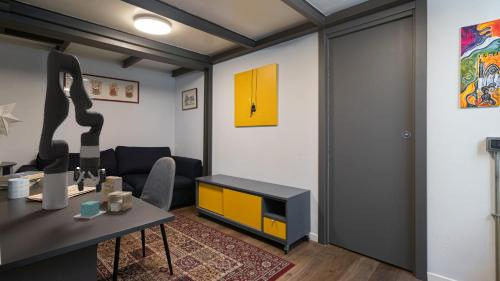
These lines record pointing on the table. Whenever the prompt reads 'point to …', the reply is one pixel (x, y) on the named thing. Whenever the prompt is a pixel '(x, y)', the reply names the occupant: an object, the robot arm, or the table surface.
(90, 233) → the table surface
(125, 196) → the tunnel
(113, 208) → the light grey rectangular block
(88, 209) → the block
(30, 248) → the table surface
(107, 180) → the supplement box
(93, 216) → the mat
